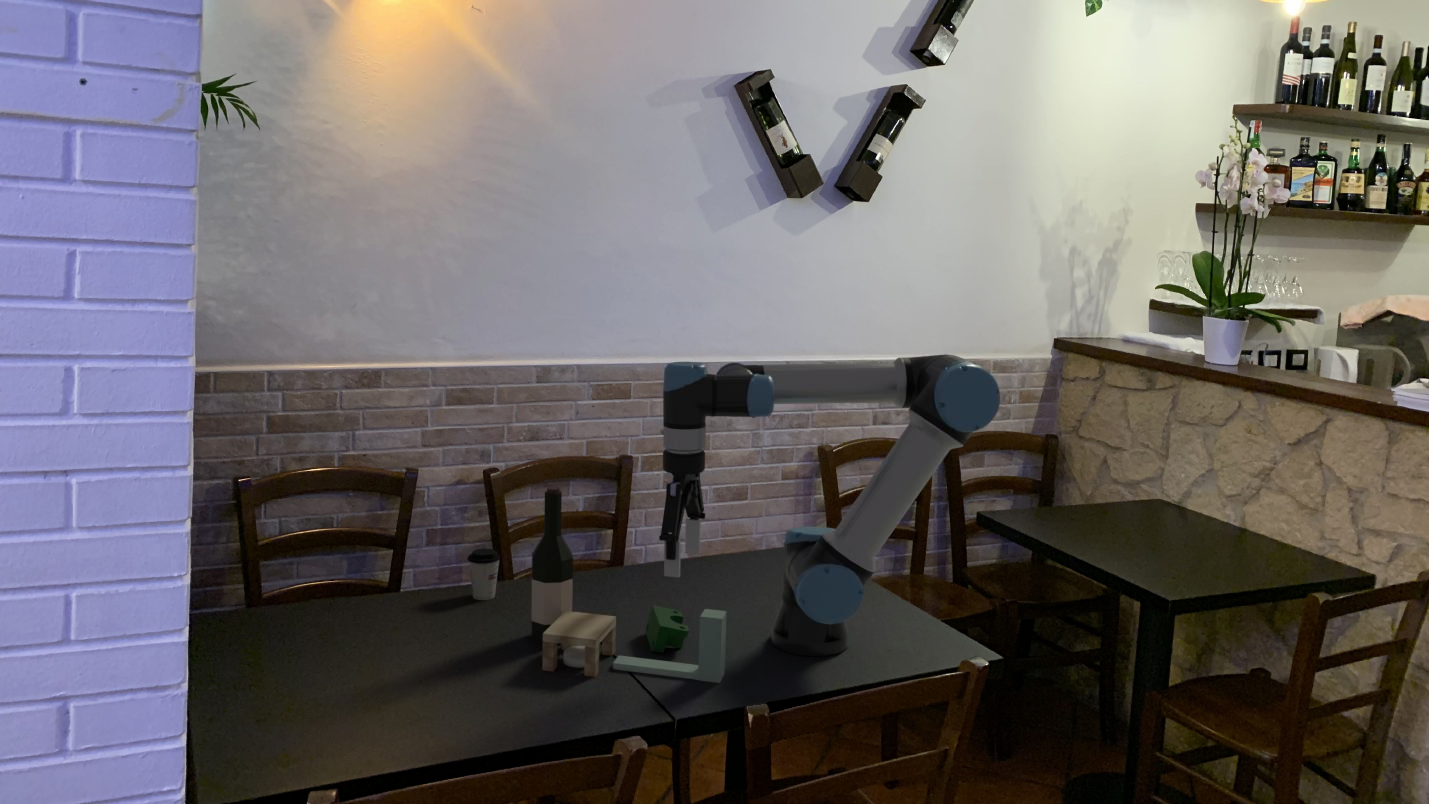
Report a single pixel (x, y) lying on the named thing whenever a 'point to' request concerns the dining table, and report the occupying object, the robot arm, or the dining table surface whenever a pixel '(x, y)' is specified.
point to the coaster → (575, 656)
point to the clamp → (665, 629)
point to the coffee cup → (483, 573)
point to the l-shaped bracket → (709, 654)
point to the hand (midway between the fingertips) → (682, 564)
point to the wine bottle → (551, 570)
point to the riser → (580, 638)
